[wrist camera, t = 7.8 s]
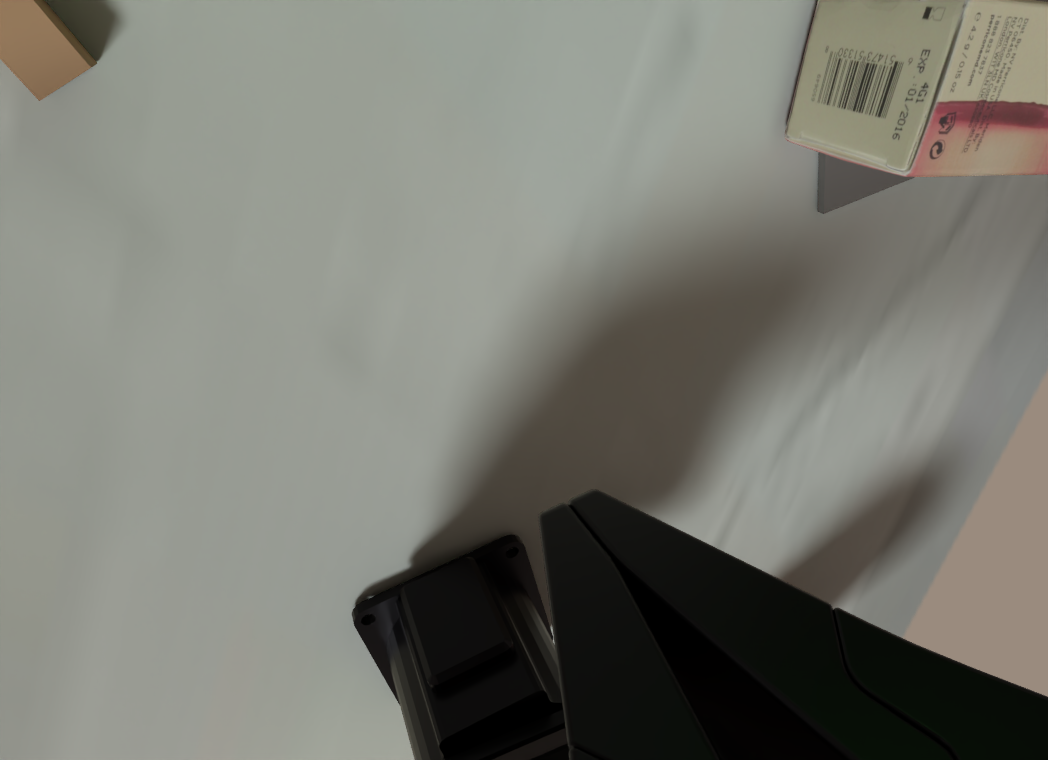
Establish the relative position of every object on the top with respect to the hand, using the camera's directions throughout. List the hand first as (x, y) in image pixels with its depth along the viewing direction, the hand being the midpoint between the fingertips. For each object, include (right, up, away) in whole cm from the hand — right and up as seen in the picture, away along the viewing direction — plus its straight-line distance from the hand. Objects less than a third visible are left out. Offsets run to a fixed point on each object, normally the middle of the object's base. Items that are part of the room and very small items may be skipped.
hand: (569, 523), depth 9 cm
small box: (+8, +10, +9) cm, 16 cm away
